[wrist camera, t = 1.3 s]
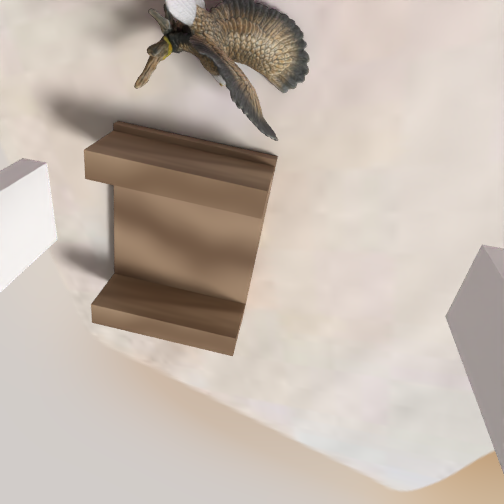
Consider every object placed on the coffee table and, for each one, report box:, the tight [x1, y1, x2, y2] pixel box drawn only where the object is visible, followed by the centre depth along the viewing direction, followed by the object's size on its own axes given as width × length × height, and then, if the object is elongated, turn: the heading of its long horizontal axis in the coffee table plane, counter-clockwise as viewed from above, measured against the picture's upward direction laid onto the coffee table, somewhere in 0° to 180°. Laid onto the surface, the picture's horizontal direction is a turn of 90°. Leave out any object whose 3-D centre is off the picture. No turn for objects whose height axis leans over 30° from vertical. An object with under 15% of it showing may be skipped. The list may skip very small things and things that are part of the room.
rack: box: [84, 121, 278, 356], centre depth 33 cm, size 16×12×5 cm
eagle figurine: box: [134, 0, 309, 141], centre depth 25 cm, size 8×7×9 cm
